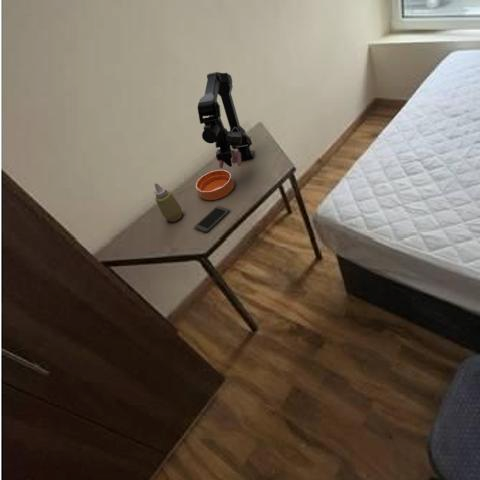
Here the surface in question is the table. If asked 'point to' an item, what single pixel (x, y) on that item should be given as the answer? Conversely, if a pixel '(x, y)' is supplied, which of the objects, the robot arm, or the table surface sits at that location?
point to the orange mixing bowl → (215, 184)
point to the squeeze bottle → (167, 204)
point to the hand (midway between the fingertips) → (230, 162)
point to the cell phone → (211, 219)
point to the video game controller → (235, 159)
